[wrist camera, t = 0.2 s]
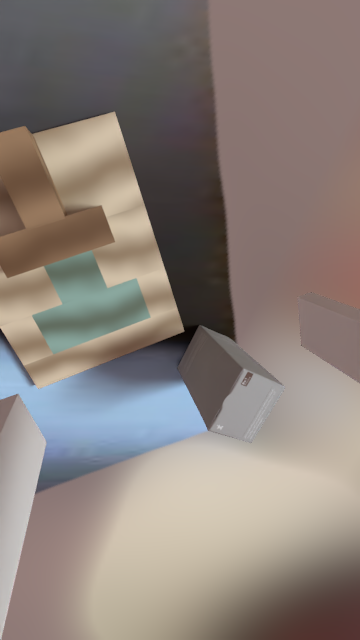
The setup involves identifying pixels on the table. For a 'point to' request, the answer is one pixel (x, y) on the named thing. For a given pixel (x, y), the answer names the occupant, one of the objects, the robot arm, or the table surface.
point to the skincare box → (228, 385)
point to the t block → (42, 211)
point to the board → (88, 264)
